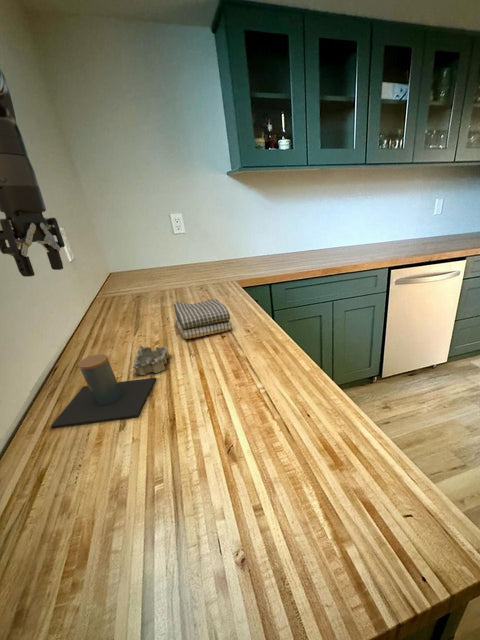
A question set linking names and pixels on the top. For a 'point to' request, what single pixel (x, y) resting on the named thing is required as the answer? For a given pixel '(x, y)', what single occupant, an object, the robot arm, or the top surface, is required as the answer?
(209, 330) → the towel
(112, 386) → the sugar canister
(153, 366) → the egg carton
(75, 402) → the counter mat
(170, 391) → the top surface
